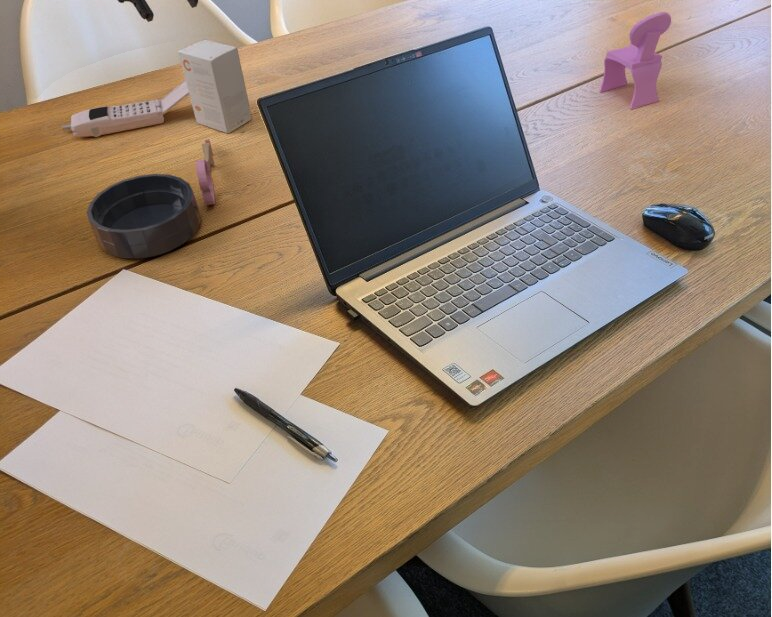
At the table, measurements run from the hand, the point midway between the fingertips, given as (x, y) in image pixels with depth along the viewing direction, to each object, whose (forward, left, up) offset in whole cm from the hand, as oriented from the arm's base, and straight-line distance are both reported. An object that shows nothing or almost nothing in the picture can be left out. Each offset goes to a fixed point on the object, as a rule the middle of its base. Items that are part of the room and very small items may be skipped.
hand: (174, 11), depth 111 cm
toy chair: (+54, -57, -17) cm, 80 cm away
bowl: (-26, -29, -17) cm, 42 cm away
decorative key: (-12, -23, -17) cm, 31 cm away
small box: (0, -9, -17) cm, 19 cm away
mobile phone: (-11, +3, -17) cm, 21 cm away
